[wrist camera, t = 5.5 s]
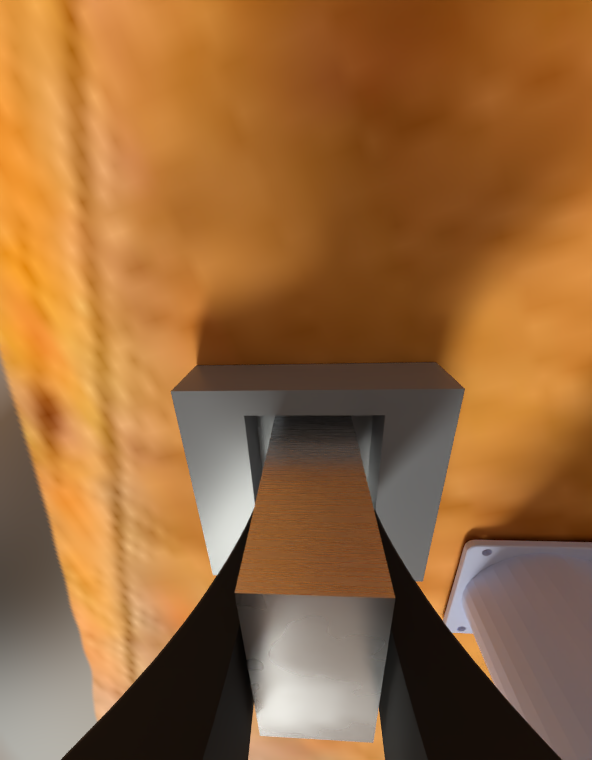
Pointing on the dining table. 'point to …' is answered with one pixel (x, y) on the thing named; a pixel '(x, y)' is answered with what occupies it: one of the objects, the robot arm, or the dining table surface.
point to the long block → (315, 586)
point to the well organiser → (321, 397)
